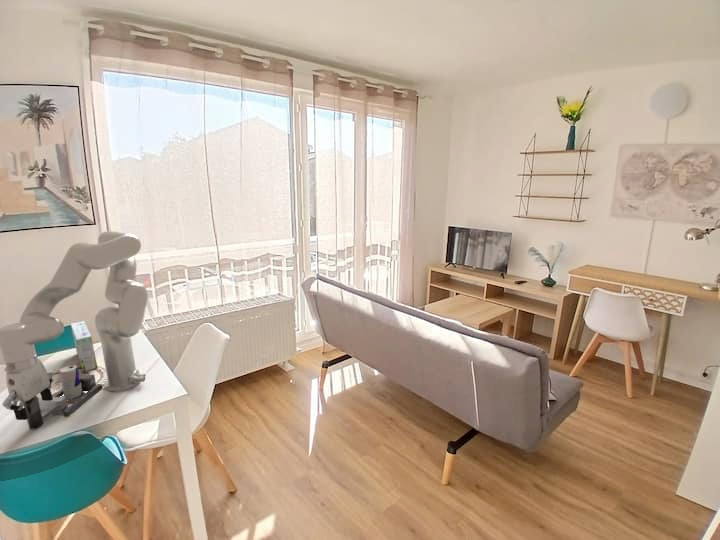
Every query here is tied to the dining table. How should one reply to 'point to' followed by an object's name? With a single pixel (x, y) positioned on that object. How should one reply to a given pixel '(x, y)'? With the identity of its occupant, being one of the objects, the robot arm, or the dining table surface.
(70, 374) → the energy drink
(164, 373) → the dining table surface
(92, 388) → the press
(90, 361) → the snack box
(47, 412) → the ram
